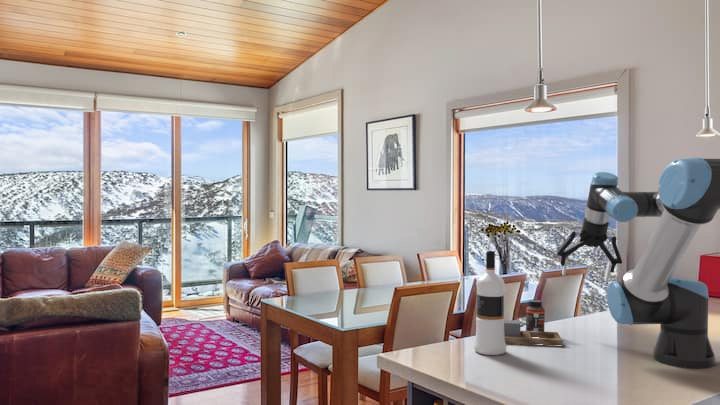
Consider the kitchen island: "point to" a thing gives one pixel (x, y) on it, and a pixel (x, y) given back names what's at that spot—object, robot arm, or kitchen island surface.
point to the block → (512, 328)
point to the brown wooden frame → (526, 338)
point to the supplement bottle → (535, 316)
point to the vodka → (490, 311)
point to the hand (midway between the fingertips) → (584, 277)
